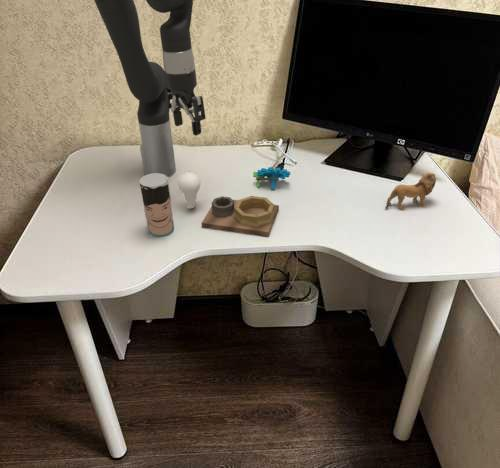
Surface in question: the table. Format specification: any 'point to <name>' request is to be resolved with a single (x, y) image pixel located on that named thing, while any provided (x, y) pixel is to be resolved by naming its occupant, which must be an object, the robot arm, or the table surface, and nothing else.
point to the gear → (270, 175)
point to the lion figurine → (414, 190)
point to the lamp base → (242, 215)
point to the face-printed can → (157, 204)
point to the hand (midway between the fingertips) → (188, 129)
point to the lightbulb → (189, 187)
